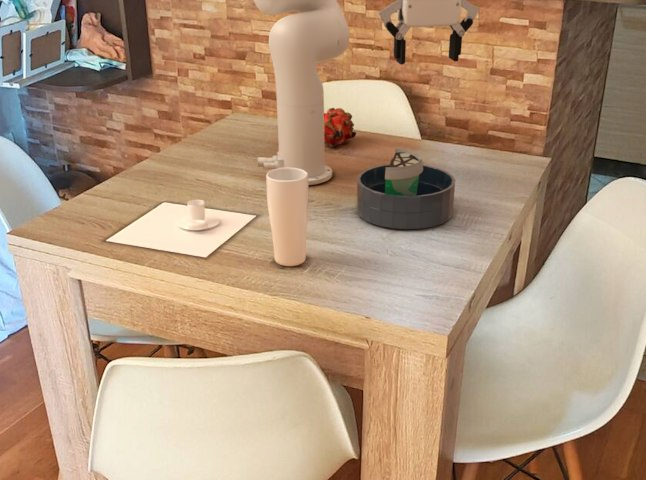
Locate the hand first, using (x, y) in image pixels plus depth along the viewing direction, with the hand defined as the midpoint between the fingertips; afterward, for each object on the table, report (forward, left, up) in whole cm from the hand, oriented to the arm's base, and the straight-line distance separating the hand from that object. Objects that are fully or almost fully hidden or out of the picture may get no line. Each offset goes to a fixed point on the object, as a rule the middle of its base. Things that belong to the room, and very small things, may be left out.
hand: (427, 61), depth 143 cm
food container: (-3, -1, -27) cm, 27 cm away
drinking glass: (-26, -21, -27) cm, 43 cm away
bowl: (-3, -1, -27) cm, 27 cm away
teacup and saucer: (-45, -5, -27) cm, 52 cm away
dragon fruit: (-13, +43, -27) cm, 52 cm away
